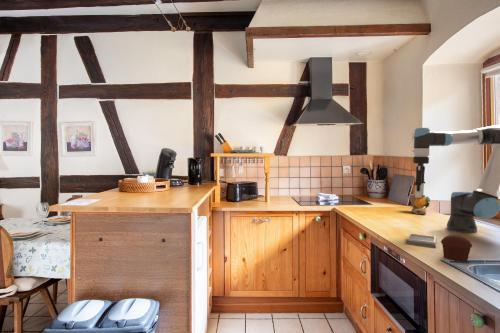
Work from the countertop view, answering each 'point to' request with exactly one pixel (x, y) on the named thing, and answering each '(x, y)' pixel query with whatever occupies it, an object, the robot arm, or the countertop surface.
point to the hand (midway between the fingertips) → (419, 196)
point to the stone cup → (414, 210)
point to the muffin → (456, 248)
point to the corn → (422, 202)
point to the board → (421, 240)
